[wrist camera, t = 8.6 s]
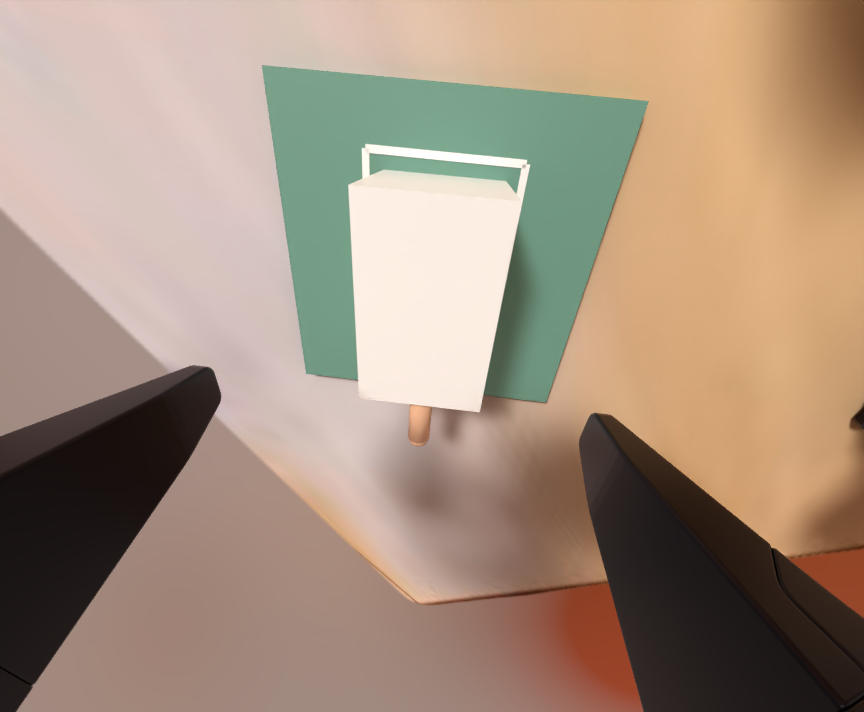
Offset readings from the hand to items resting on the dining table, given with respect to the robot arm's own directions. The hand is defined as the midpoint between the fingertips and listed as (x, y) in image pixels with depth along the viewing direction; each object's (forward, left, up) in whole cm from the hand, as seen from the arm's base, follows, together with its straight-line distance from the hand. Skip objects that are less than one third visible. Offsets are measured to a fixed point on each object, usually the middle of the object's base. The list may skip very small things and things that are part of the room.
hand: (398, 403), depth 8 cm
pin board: (0, 0, -10) cm, 10 cm away
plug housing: (0, +2, -10) cm, 10 cm away
